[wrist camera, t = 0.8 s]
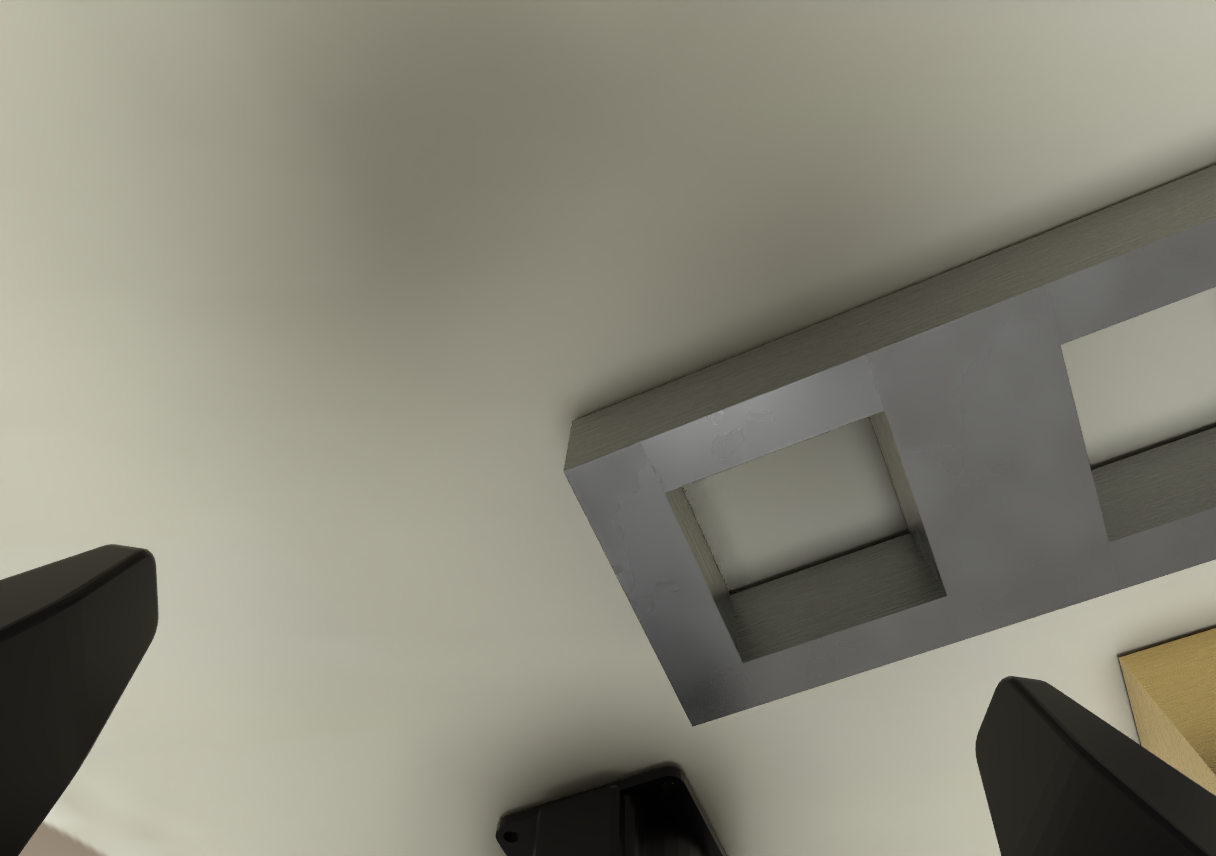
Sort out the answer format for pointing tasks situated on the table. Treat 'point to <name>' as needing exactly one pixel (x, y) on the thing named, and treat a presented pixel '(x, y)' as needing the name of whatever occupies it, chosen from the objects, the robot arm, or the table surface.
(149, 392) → the table surface
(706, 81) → the table surface
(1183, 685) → the brass block
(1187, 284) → the grey slotted block
